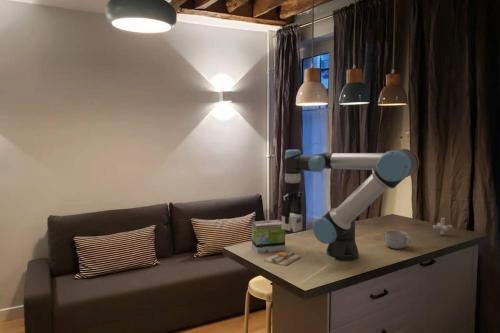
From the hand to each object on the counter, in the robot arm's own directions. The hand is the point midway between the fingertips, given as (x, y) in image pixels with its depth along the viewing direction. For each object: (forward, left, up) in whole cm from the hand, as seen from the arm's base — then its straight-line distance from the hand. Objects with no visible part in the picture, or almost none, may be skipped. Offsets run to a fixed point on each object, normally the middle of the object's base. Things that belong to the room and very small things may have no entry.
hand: (291, 228), depth 190 cm
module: (0, 0, 0) cm, 0 cm away
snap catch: (-1, +10, -11) cm, 15 cm away
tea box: (+13, +1, -14) cm, 19 cm away
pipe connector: (-54, -75, -13) cm, 93 cm away
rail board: (-1, +10, -13) cm, 17 cm away
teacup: (-40, -39, -14) cm, 57 cm away
